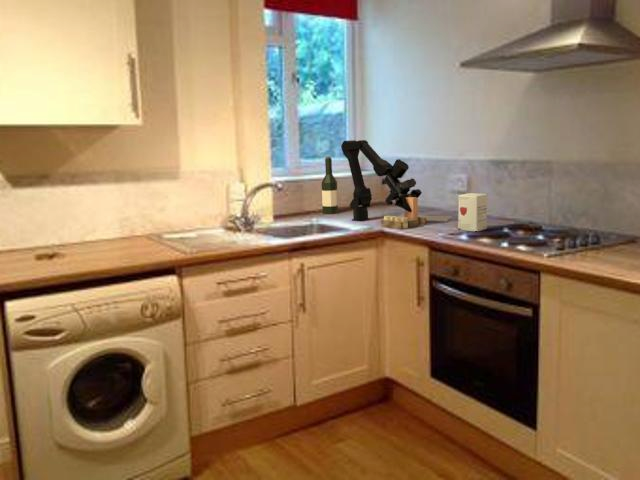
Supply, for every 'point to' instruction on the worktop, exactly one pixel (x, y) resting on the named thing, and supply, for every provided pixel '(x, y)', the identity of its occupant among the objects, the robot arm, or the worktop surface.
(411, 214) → the orange rectangular block
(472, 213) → the supplement box
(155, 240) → the worktop surface
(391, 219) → the ash offcut
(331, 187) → the wine bottle
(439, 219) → the slate tile
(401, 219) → the oak offcut
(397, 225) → the walnut rack
